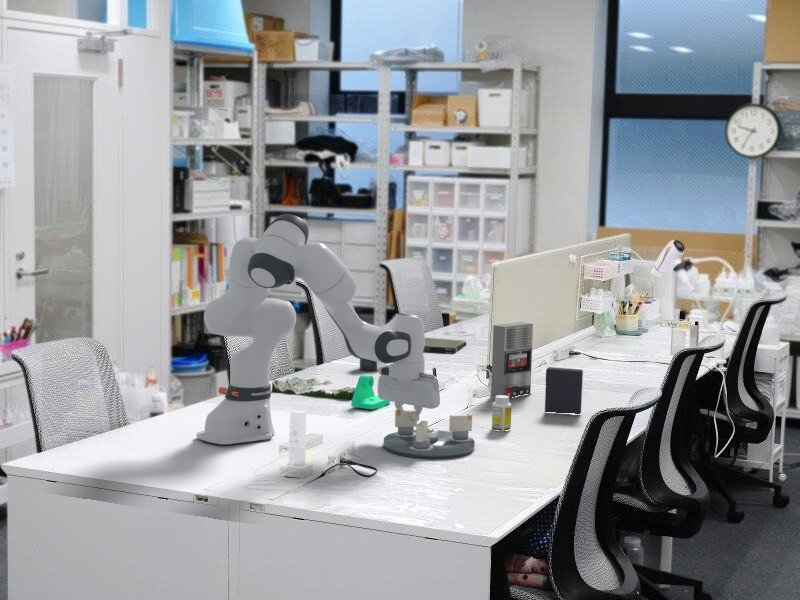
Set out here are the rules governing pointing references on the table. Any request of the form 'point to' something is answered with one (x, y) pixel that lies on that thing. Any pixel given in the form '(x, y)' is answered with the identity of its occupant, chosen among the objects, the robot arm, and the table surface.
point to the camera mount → (366, 394)
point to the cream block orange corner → (404, 422)
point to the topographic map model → (310, 388)
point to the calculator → (563, 390)
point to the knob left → (421, 436)
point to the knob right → (460, 426)
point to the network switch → (443, 345)
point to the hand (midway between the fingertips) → (408, 419)
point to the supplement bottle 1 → (368, 365)
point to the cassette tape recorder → (511, 359)
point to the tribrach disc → (439, 445)
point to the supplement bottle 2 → (501, 413)
